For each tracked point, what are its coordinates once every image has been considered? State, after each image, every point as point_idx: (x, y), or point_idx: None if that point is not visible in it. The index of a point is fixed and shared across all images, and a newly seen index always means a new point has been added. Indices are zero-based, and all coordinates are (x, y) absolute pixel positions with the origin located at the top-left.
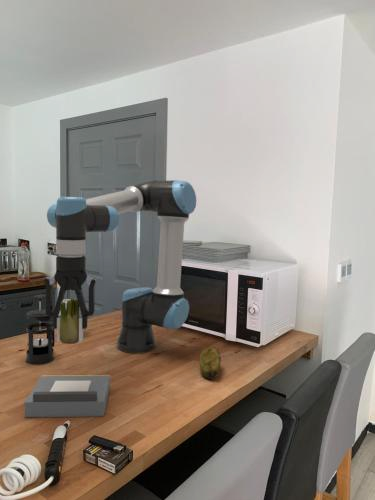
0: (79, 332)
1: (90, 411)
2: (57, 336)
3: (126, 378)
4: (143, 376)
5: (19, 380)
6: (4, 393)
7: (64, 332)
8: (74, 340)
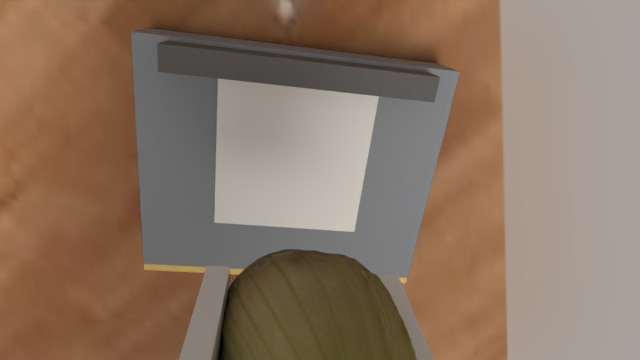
0: (212, 323)
1: (200, 36)
2: (405, 303)
3: (106, 299)
4: (42, 310)
5: (463, 305)
6: (504, 229)
7: (355, 303)
8: (262, 265)
